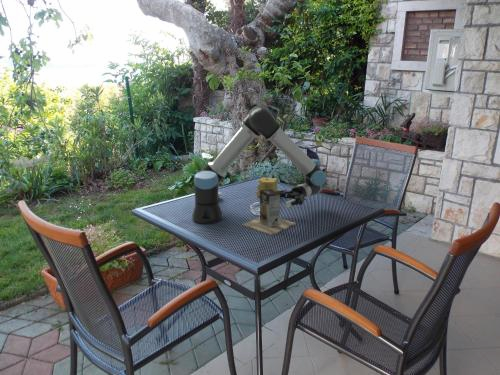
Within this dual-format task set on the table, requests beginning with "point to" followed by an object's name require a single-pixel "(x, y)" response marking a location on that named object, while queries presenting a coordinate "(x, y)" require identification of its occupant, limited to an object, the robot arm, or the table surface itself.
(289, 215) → the table surface
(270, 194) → the coffee box
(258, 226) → the board
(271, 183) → the cheese
